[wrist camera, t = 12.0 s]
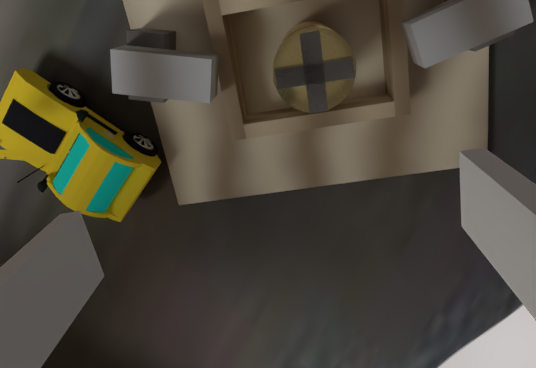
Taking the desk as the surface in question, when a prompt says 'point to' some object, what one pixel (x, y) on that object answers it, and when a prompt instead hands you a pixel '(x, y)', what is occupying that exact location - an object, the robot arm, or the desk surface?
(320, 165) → the shaft rig
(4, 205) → the desk surface
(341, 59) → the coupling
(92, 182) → the toy car
